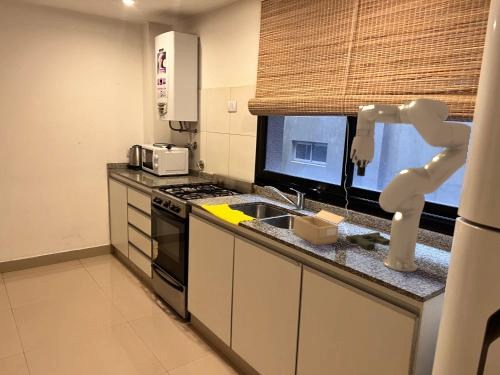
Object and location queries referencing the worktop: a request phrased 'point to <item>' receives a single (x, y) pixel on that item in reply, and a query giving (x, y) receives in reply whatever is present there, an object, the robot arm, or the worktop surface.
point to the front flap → (302, 220)
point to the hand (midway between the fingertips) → (360, 175)
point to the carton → (315, 230)
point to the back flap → (330, 217)
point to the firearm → (367, 240)
